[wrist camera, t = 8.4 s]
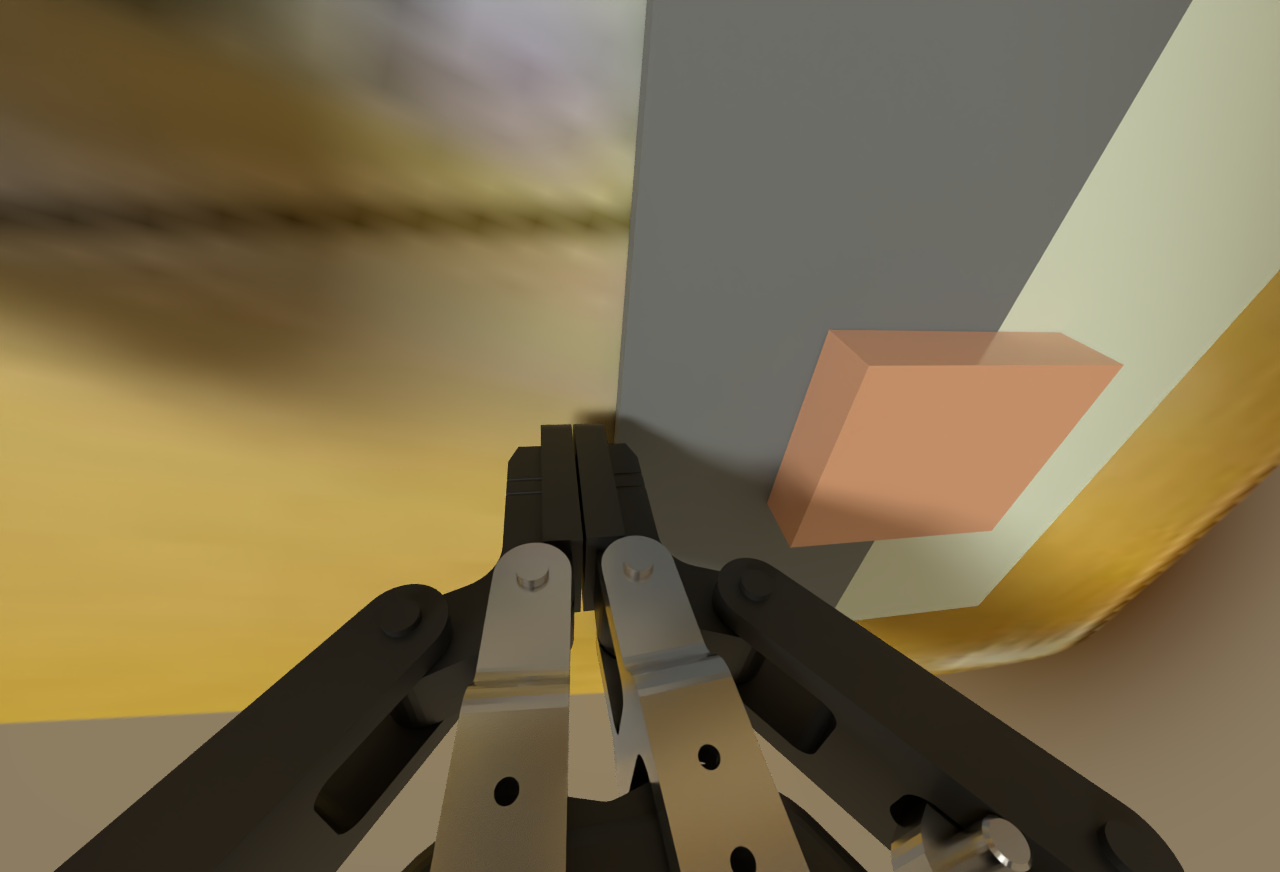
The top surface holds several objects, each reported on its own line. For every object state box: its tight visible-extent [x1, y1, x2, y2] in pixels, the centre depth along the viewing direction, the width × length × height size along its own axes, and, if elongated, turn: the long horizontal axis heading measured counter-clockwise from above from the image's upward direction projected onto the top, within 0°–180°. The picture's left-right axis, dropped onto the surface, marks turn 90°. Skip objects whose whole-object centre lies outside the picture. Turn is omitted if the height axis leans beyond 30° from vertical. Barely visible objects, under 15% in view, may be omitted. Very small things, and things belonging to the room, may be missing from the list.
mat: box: [614, 0, 1280, 621], centre depth 14 cm, size 22×18×1 cm
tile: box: [767, 330, 1123, 548], centre depth 13 cm, size 6×2×7 cm
